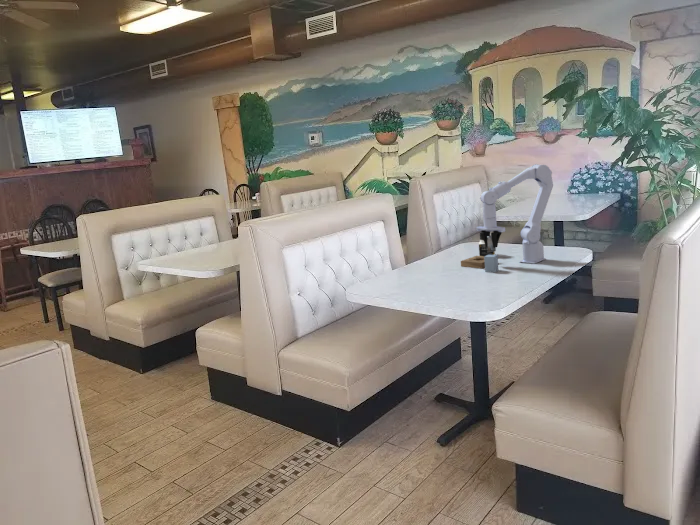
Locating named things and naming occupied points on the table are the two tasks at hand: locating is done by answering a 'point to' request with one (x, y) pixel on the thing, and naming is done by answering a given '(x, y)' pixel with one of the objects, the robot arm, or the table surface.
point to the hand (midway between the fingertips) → (491, 247)
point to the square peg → (491, 263)
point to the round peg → (490, 244)
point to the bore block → (474, 262)
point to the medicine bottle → (484, 248)
